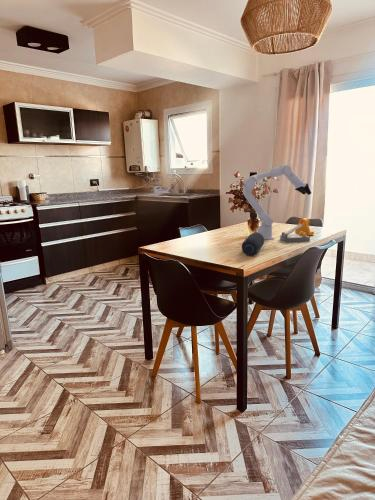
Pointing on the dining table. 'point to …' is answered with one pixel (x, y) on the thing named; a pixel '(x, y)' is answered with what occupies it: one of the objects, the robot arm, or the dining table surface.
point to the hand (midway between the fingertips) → (307, 193)
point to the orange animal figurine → (304, 227)
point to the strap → (293, 229)
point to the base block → (295, 237)
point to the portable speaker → (252, 244)
